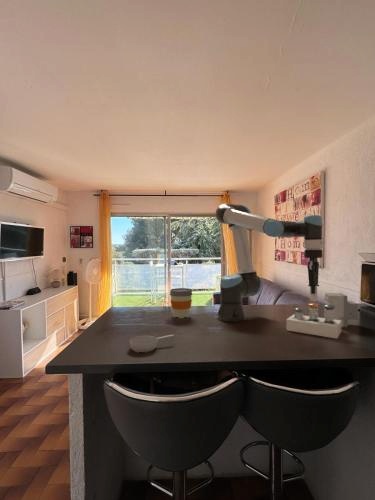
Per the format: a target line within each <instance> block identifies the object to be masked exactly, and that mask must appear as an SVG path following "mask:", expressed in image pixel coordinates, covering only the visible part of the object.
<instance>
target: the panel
mask: <svg viewBox="0 0 375 500" xmlns="http://www.w3.org/2000/svg"><path fill="white" fill-rule="evenodd" d="M286 331H289V332H296V333H300V334H301V333H302V334H308V335H313V336H321V337H325V338H331V339H332V338H333V339H338V338H339V336H341V335H340V334H341V333H342V327H341V320H334V324H330V323H325V317H319V316H318V322H315V321H309V315H303V320H301V319H295V313H293V314H292V315H291V316H289V317H288V318H286Z"/></svg>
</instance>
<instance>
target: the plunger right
mask: <svg viewBox="0 0 375 500" xmlns="http://www.w3.org/2000/svg"><path fill="white" fill-rule="evenodd" d="M323 308H324V318H325V323H330V324H334V308H335V306H333V305H327V304H324V305H323Z"/></svg>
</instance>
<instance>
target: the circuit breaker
mask: <svg viewBox="0 0 375 500" xmlns="http://www.w3.org/2000/svg"><path fill="white" fill-rule="evenodd" d="M324 302H325V305H333V306H335V308H334V320H341V328H348V325H349V323H348V320H357V321H358V319H359V318H358V317H359V315H358V313H359V312H361V309H360V308H358V303H356V302H354V301H352V300H348V295H347V294H344V293H343V292H341V293H340V292H325V293H324Z"/></svg>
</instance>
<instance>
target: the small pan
mask: <svg viewBox="0 0 375 500" xmlns="http://www.w3.org/2000/svg"><path fill="white" fill-rule="evenodd" d="M172 337H175V334H174V333H173V334H169V335H168V334H167V335H163V336H159V337H156V336H154V335H138V336H134V337H132V338H131V339H129V346H130V349H131V350H132V351H133V352H135V353H139V352H145V353H150V352H152V351H154V350H155V349H156V347H157V345H158V340H163V339H167V338H172ZM149 351H150V352H149Z"/></svg>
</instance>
